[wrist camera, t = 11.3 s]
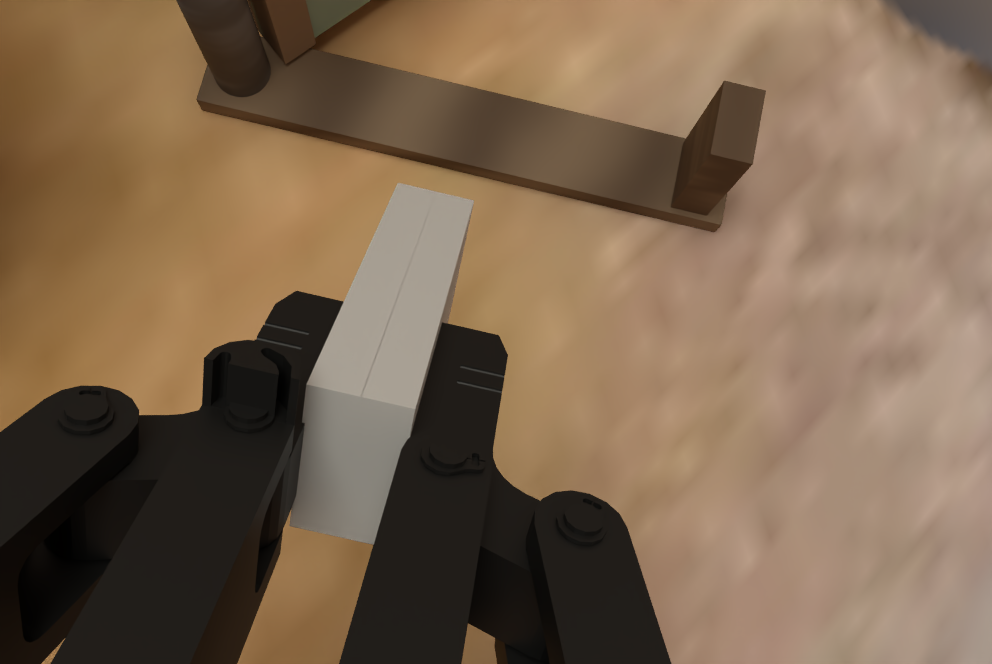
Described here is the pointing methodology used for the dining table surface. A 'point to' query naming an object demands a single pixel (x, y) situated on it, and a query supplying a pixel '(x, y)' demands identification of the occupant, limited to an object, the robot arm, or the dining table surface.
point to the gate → (298, 22)
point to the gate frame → (477, 124)
